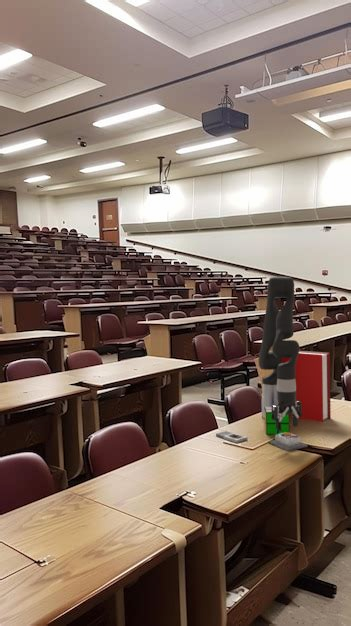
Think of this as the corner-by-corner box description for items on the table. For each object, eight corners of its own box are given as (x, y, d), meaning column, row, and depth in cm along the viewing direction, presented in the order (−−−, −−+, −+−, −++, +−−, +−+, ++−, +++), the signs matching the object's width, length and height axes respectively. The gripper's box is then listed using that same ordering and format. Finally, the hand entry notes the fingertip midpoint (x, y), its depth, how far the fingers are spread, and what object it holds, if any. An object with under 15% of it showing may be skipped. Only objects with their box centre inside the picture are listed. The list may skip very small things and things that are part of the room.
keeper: (268, 443, 199) (268, 431, 198) (286, 439, 204) (286, 427, 203) (288, 451, 188) (288, 438, 188) (307, 446, 193) (307, 434, 193)
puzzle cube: (286, 428, 220) (286, 406, 219) (289, 434, 210) (289, 412, 209) (264, 428, 221) (263, 406, 220) (266, 434, 211) (265, 412, 210)
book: (330, 418, 233) (329, 352, 232) (323, 422, 227) (322, 354, 226) (280, 410, 252) (279, 349, 250) (272, 413, 246) (271, 351, 244)
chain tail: (215, 436, 211) (215, 433, 210) (226, 433, 214) (226, 430, 214) (236, 443, 200) (236, 440, 200) (247, 439, 204) (247, 437, 204)
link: (275, 441, 198) (275, 434, 198) (287, 439, 201) (286, 432, 201) (288, 447, 191) (288, 439, 191) (300, 444, 194) (300, 436, 194)
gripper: (293, 385, 202) (293, 423, 203) (266, 389, 195) (267, 429, 196) (306, 388, 195) (306, 428, 196) (279, 393, 188) (279, 434, 189)
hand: (287, 428), depth 196 cm, fingers open, 8 cm apart
